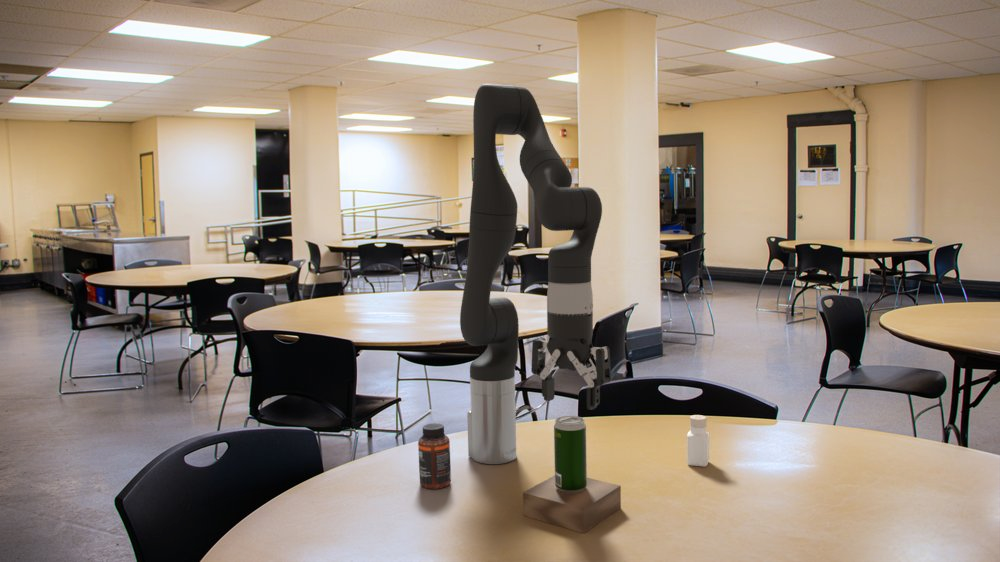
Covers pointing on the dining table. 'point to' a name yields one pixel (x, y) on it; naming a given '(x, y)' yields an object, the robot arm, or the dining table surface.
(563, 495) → the walnut plinth
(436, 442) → the supplement bottle
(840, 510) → the dining table surface
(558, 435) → the beer can
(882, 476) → the dining table surface
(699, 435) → the pepper shaker
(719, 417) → the dining table surface
